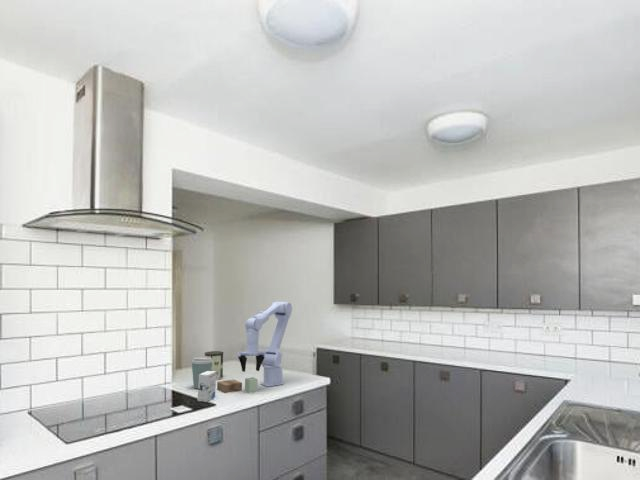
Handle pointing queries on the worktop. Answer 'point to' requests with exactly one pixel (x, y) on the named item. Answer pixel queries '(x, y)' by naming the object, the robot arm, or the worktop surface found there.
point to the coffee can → (216, 363)
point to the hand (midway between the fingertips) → (250, 371)
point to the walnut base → (229, 386)
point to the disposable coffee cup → (200, 368)
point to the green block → (251, 385)
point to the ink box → (206, 386)
